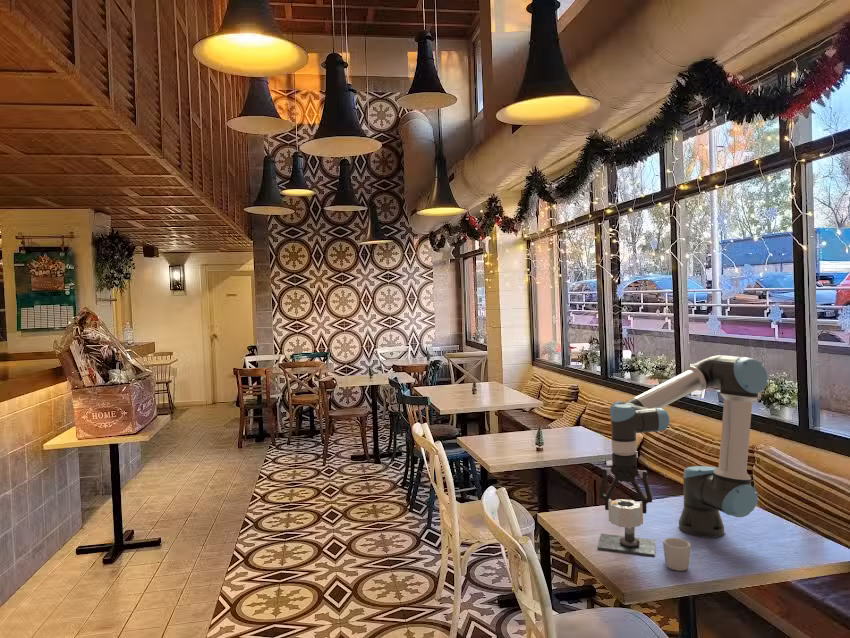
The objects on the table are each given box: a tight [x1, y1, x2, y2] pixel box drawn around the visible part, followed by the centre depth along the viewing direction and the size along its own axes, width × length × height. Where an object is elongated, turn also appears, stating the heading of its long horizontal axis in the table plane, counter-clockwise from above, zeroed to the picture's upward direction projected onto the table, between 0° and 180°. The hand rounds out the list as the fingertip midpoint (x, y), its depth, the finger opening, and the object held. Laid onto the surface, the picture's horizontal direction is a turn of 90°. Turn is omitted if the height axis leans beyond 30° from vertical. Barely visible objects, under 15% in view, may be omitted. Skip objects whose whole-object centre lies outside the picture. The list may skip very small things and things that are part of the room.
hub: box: [610, 498, 642, 528], centre depth 193 cm, size 9×9×6 cm
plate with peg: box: [597, 527, 656, 558], centre depth 204 cm, size 18×13×8 cm
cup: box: [662, 537, 692, 572], centre depth 188 cm, size 11×8×8 cm
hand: (625, 521), depth 193 cm, fingers closed on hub, 9 cm apart
